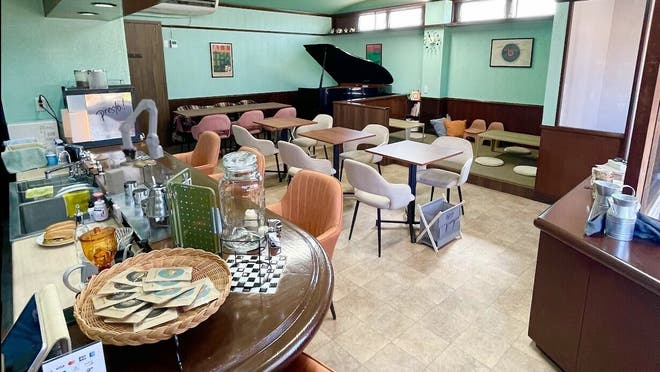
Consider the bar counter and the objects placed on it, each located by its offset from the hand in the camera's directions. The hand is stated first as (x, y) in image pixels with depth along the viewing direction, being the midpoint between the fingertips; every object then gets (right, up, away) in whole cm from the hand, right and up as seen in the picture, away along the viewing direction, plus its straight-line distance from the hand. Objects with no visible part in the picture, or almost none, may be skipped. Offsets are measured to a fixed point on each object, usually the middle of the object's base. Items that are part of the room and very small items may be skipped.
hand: (131, 159), depth 295 cm
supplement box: (+24, -23, -63) cm, 72 cm away
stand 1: (0, -3, +1) cm, 3 cm away
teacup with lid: (-10, -9, -14) cm, 19 cm away
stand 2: (+13, -4, -5) cm, 14 cm away
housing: (0, -2, 0) cm, 2 cm away
